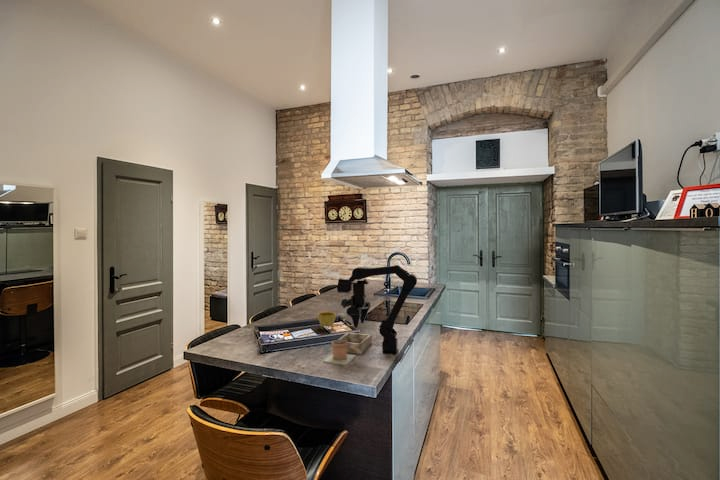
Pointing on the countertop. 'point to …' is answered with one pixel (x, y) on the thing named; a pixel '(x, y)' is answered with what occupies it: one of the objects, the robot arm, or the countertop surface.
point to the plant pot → (326, 318)
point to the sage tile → (342, 362)
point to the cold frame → (355, 337)
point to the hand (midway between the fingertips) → (359, 325)
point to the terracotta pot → (339, 349)
